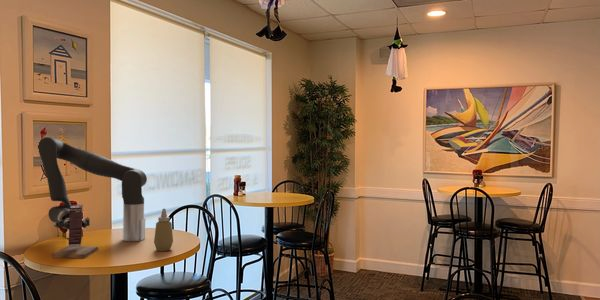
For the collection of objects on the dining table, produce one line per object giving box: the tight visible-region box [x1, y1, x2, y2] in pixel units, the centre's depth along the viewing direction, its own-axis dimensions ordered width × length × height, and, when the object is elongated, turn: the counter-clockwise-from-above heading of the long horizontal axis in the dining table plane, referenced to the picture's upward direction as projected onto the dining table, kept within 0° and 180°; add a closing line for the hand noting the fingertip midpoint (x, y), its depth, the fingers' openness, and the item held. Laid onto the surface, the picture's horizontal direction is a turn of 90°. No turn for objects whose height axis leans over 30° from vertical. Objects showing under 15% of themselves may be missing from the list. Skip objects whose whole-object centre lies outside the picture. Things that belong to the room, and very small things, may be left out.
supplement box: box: [67, 204, 84, 247], centre depth 189 cm, size 9×5×16 cm, turn 24°
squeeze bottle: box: [153, 208, 174, 252], centre depth 198 cm, size 8×8×18 cm
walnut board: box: [51, 245, 99, 259], centre depth 189 cm, size 13×13×2 cm
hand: (76, 226), depth 187 cm, fingers closed on supplement box, 5 cm apart
